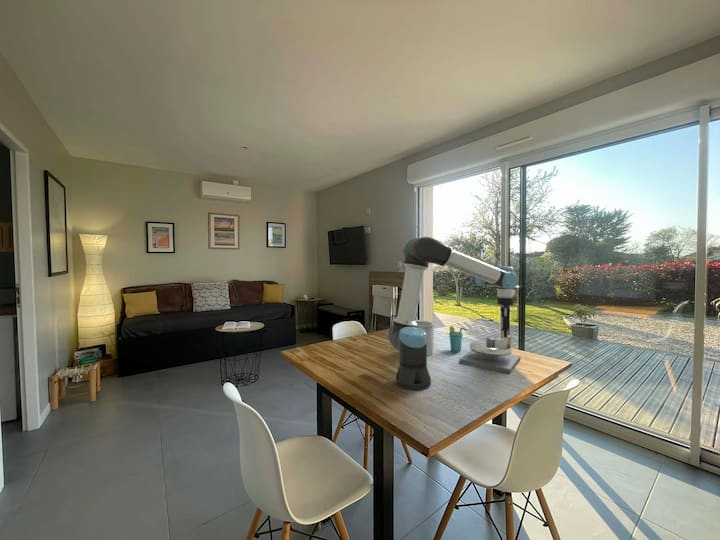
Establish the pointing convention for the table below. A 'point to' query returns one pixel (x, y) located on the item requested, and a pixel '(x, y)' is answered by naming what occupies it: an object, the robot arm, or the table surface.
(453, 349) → the cup
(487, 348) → the handwheel
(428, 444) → the table surface
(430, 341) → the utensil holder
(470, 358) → the stand
